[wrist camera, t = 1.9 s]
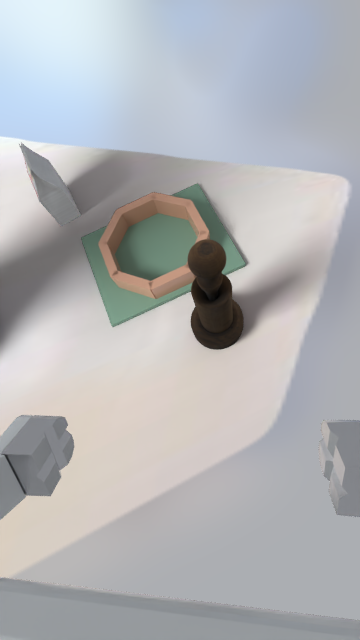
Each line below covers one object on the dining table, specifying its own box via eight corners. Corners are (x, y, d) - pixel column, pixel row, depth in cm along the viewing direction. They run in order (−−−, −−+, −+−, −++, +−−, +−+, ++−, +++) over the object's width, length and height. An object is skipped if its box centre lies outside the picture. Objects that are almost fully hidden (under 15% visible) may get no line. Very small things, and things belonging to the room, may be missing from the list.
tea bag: (68, 188, 51) (31, 136, 42) (81, 215, 49) (45, 166, 39) (49, 198, 51) (8, 148, 42) (61, 226, 49) (20, 179, 39)
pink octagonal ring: (128, 312, 41) (120, 304, 38) (98, 234, 46) (89, 221, 43) (224, 267, 40) (223, 256, 38) (183, 194, 46) (179, 179, 43)
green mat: (113, 327, 41) (111, 325, 40) (82, 240, 47) (80, 237, 46) (245, 266, 41) (245, 263, 40) (198, 186, 46) (197, 183, 46)
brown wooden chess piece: (197, 298, 40) (171, 210, 24) (246, 304, 39) (255, 214, 22) (188, 346, 38) (154, 285, 22) (239, 353, 37) (244, 295, 20)
